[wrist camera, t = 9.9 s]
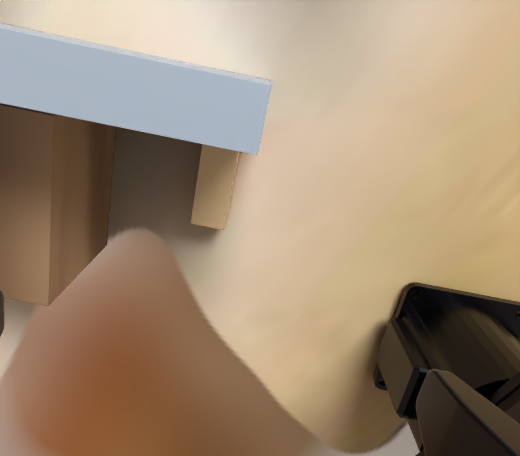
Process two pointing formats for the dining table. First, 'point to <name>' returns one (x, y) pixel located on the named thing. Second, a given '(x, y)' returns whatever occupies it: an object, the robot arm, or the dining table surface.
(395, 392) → the robot arm
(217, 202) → the grey toy bench
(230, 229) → the dining table surface
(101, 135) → the cabinet block
